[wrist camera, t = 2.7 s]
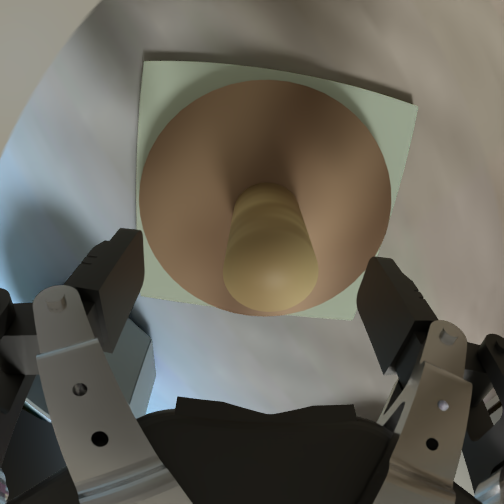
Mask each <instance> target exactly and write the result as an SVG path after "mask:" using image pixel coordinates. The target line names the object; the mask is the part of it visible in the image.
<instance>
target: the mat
mask: <svg viewBox="0 0 504 504" xmlns="http://www.w3.org/2000/svg"><path fill="white" fill-rule="evenodd" d="M251 80H278V81H288V82H293V83H297V84H301V85H305V86H308V87H311V88H313V89H315V90H318V91H320V92H323V93H325V94H327V95H328V96H330V97H332V98H333V99H335V100H337V101H338V102H340V103H342V104H343V105H344V106H345V107H346V108H348V109H349V110H350V111H351V112H353V113H354V114H355V115H356V116H357V117H358V118H359V119H360V120H361V122H362V123H363V124H364V125H365V126H366V127H367V128H368V130H369V131H370V133H371V134H372V136H373V137H374V139H375V140H376V142H377V144H378V146H379V148H380V150H381V152H382V154H383V156H384V159H385V162H386V166H387V169H388V172H389V178H390V184H391V211H390V216H391V213H392V210H393V207H394V203H395V200H396V197H397V193H398V190H399V186H400V182H401V179H402V175H403V171H404V168H405V164H406V160H407V156H408V152H409V148H410V143H411V139H412V135H413V130H414V125H415V121H416V116H417V111H418V106H415V105H412V104H410V103H407V102H404V101H401V100H398V99H395V98H392V97H389V96H386V95H382V94H379V93H376V92H372V91H369V90H365V89H362V88H358V87H355V86H351V85H347V84H343V83H339V82H335V81H330V80H326V79H322V78H317V77H312V76H307V75H302V74H297V73H291V72H285V71H279V70H273V69H266V68H259V67H251V66H242V65H233V64H222V63H208V62H189V61H144V66H143V75H142V85H141V95H140V107H139V121H138V139H137V168H136V218H137V230H141V231H142V233H143V247H144V266H145V275H144V282H143V286H142V288H141V290H140V293H141V296H144V297H150V298H156V299H163V300H169V301H176V302H183V303H190V304H197V305H204V306H212V305H210V304H207V303H206V302H204V301H202V300H200V299H198V298H196V297H195V296H193V295H192V294H190V293H189V292H187V291H186V290H185V289H183V288H182V287H181V286H180V285H179V284H178V283H176V282H175V281H174V280H173V279H172V278H171V277H170V276H169V274H168V273H167V272H166V271H165V270H164V269H163V267H162V266H161V265H160V263H159V262H158V260H157V259H156V257H155V256H154V254H153V252H152V250H151V248H150V246H149V244H148V241H147V239H146V236H145V233H144V230H143V226H142V222H141V217H140V208H139V190H140V181H141V176H142V172H143V167H144V165H145V162H146V159H147V157H148V154H149V151H150V150H151V148H152V146H153V144H154V142H155V141H156V139H157V137H158V136H159V134H160V133H161V132H162V130H163V129H164V128H165V126H166V125H167V124H168V123H169V122H170V121H171V120H172V119H173V118H174V117H175V116H176V115H177V114H178V113H179V112H180V111H181V110H182V109H183V108H185V107H186V106H188V105H189V104H190V103H192V102H193V101H194V100H196V99H198V98H200V97H201V96H203V95H205V94H207V93H209V92H211V91H213V90H216V89H219V88H221V87H224V86H227V85H230V84H235V83H240V82H245V81H251ZM389 220H390V219H389ZM380 247H381V246H380ZM379 250H380V248H379ZM379 250H378V252H377V253H376V255H375V257H377V256H378V253H379ZM364 273H365V271H364V272H363V273H362V274H361V275H360V276H359V277H358V278H357V279H356V281H355V282H353V283H352V284H351V285H350V286H349V287H347V288H346V289H345V290H344V291H342V292H341V293H339V294H338V295H336V296H335V297H333V298H332V299H330V300H328V301H326V302H324V303H322V304H320V305H318V306H315V307H312V308H310V309H307V310H304V311H300V312H296V313H292V314H286V315H291V316H302V317H313V318H325V319H338V320H353V318H354V315H355V313H356V311H357V304H356V299H357V293H358V290H359V287H360V284H361V282H362V279H363V276H364ZM212 307H215V306H212Z"/></svg>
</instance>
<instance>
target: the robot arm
mask: <svg viewBox="0 0 504 504" xmlns="http://www.w3.org/2000/svg"><path fill="white" fill-rule="evenodd" d="M144 275H145V266H144V247H143V233H142V231H141V230H135V229H125V228H120V229H119V230H118V231H117V232H116V234H115V235H114V236H113V237H112V239H111V240H110V241H103V242H102V243H100V244H98V245H96V246H95V247H93V249H92V250H91V251H90V252H89V253H88V255H87V257H85V258H84V260H83V261H82V262H81V264H80V265H79V266H78V267H77V268H76V270H75V271H74V272H73V273H72V275H71V276H70V277H69V279H68V280H67V281H66V282H65V284H64V285H56V286H52V287H49V288H46V289H44V290H43V291H41V292H40V293H39V294H38V295H37V296H36V297H35V299H34V301H33V303H15V304H13V303H12V300H11V297H10V294H9V292H8V291H7V290H5V289H2V288H0V504H504V338H503V337H501V336H499V335H496V334H488V335H487V336H486V337H485V339H484V341H483V342H482V344H481V345H477V344H473V343H469V342H467V339H466V336H465V335H464V333H463V332H462V331H461V330H460V329H459V328H458V327H457V326H455V325H454V324H452V323H450V322H448V321H444V320H438V318H437V317H436V315H435V314H434V312H433V311H432V309H431V308H430V306H429V305H428V303H427V302H426V300H425V299H423V296H422V294H421V293H420V292H418V288H417V287H416V286H415V284H414V283H413V281H412V280H410V279H409V278H408V277H407V276H406V275H404V274H403V273H402V272H401V270H400V269H399V267H398V266H397V265H396V263H395V262H394V260H393V259H391V258H383V257H375V256H373V257H371V258H370V260H369V262H368V264H367V267H366V270H365V273H364V276H363V279H362V282H361V284H360V287H359V290H358V293H357V299H356V304H357V309H358V311H359V314H360V316H361V319H362V321H363V323H364V326H365V328H366V331H367V333H368V336H369V338H370V341H371V343H372V346H373V348H374V351H375V354H376V356H377V359H378V361H379V364H380V367H381V369H382V372H383V375H396V374H397V375H398V377H399V378H398V379H397V381H396V382H395V384H394V386H393V388H392V390H391V393H390V395H389V397H388V399H387V402H386V404H385V406H384V408H383V410H382V412H381V414H380V417H379V419H378V421H377V422H373V421H370V420H368V419H364V418H360V417H356V413H355V409H354V405H353V404H352V405H325V406H310V407H306V408H302V409H297V410H292V411H288V412H283V413H278V414H264V413H260V412H256V411H253V410H249V409H245V408H242V407H238V406H235V405H232V404H228V403H225V402H219V401H210V400H201V399H193V398H185V397H177V402H176V408H175V409H167V410H162V411H157V412H153V413H149V414H146V415H144V416H141V417H139V418H137V419H136V418H135V416H134V415H133V413H132V411H131V409H130V407H129V405H128V403H127V401H126V399H125V397H124V395H123V393H122V391H121V389H120V387H119V385H118V383H117V381H116V379H115V377H114V375H113V373H112V370H111V368H110V366H109V364H108V361H107V359H106V357H105V355H104V352H107V353H112V354H113V351H114V349H115V347H116V344H117V342H118V340H119V337H120V335H121V333H122V330H123V328H124V326H125V323H126V321H127V319H128V317H129V314H130V312H131V310H132V308H133V306H134V303H135V301H136V299H137V297H138V295H139V293H140V290H141V288H142V286H143V282H144ZM36 375H40V380H41V384H42V388H43V392H44V396H45V400H46V404H47V408H48V411H49V415H50V418H51V422H52V425H53V428H54V431H55V434H56V437H57V440H58V443H59V446H60V449H61V451H62V454H63V457H64V460H65V462H66V465H67V466H65V467H64V468H62V469H61V470H59V471H57V472H56V473H54V474H53V475H51V476H50V477H48V478H47V479H45V480H43V481H42V482H40V483H38V484H37V485H35V486H34V487H32V488H31V489H29V490H27V491H25V492H24V493H22V494H20V495H19V496H17V497H15V498H13V499H12V500H10V501H8V502H7V503H6V499H7V498H8V496H9V492H8V489H7V487H6V480H5V476H4V473H3V471H2V469H1V466H2V462H3V459H4V456H5V453H6V450H7V447H8V444H9V441H10V438H11V436H12V433H13V430H14V427H15V425H16V422H17V419H18V417H19V414H20V412H21V409H22V407H23V404H24V402H25V400H26V397H27V395H28V393H29V390H30V388H31V386H32V383H33V381H34V379H35V377H36ZM493 387H494V389H495V391H496V393H497V395H498V397H499V399H500V401H501V403H502V407H503V413H502V416H501V418H500V420H499V421H498V422H497V423H496V424H495V425H493V423H492V421H491V418H490V416H489V413H488V411H487V409H486V407H485V404H484V402H483V399H484V397H485V396H486V395H487V394H488V393H489V392H490V390H491V389H492V388H493ZM461 450H462V452H463V455H464V458H465V462H466V465H467V468H468V472H469V475H470V479H471V482H472V486H473V490H474V494H475V496H474V497H473V496H472V495H471V494H470V493H468V492H467V491H466V490H464V489H463V488H462V487H460V486H459V485H458V484H456V483H455V482H454V478H455V474H456V470H457V467H458V463H459V459H460V455H461Z"/></svg>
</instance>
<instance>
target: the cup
mask: <svg viewBox="0 0 504 504" xmlns="http://www.w3.org/2000/svg"><path fill="white" fill-rule="evenodd" d="M104 355H105V357H106V359H107V361H108V364H109V366H110V368H111V370H112V373H113V375H114V377H115V379H116V381H117V383H118V385H119V387H120V389H121V391H122V393H123V395H124V397H125V399H126V401H127V403H128V405H129V407H130V409H131V411H132V413H133V415H134V416H135V418H136V419H137V418H139V417H141V416H144V415H145V414H146V410H147V406H148V403H149V399H150V395H151V392H152V388H153V385H154V381H155V378H156V370H155V363H154V355H153V346H152V339H151V338H150V337H149V336H148V335H147V334H146V333H145V332H143V331H142V330H141V329H140V328H139V327H138V326H137V325H136V324H135V323H134V322H133V321H132V320H131V319H130V318H129V317H128V319H127V321H126V323H125V326H124V328H123V330H122V333H121V335H120V337H119V340H118V342H117V344H116V347H115V349H114V351H113V354H112V353H107V352H104ZM25 401H26V402H28V403H29V404H30V405H31V406H33V407H34V408H35V409H37V410H38V411H39V412H41V413H42V414H43V415H45V416H46V417H47V418H49V419H50V420H51V418H50V415H49V411H48V408H47V404H46V400H45V396H44V392H43V388H42V384H41V380H40V375H36V377H35V379H34V381H33V383H32V386H31V388H30V390H29V393H28V395H27V397H26V400H25Z"/></svg>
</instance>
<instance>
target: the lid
mask: <svg viewBox="0 0 504 504" xmlns="http://www.w3.org/2000/svg"><path fill="white" fill-rule="evenodd" d="M139 208H140V217H141V222H142V226H143V230H144V233H145V236H146V239H147V241H148V244H149V246H150V248H151V250H152V252H153V254H154V256H155V257H156V259H157V260H158V262H159V263H160V265H161V266H162V267H163V269H164V270H165V271H166V272H167V273H168V274H169V276H170V277H171V278H172V279H173V280H174V281H175V282H176V283H178V284H179V285H180V286H181V287H182V288H183V289H185V290H186V291H187V292H189V293H190V294H192V295H193V296H195V297H196V298H198V299H200V300H202V301H204V302H206V303H207V304H210V305H212V306H215V307H217V308H220V309H222V310H226V311H229V312H233V313H238V314H243V315H250V316H279V315H286V314H292V313H296V312H300V311H304V310H307V309H310V308H312V307H315V306H318V305H320V304H322V303H324V302H326V301H328V300H330V299H332V298H333V297H335V296H336V295H338V294H339V293H341V292H342V291H344V290H345V289H346V288H347V287H349V286H350V285H351V284H352V283H353V282H355V281H356V279H357V278H358V277H359V276H360V275H361V274H362V273H363V272H364V271H365V270H366V267H367V264H368V262H369V260H370V258H371V257H373V256H375V255H376V253H377V252H378V250H379V248H380V246H381V244H382V241H383V239H384V236H385V234H386V230H387V227H388V223H389V219H390V211H391V184H390V178H389V172H388V169H387V166H386V162H385V159H384V156H383V154H382V152H381V150H380V148H379V146H378V144H377V142H376V140H375V139H374V137H373V136H372V134H371V133H370V131H369V130H368V128H367V127H366V126H365V125H364V124H363V123H362V122H361V120H360V119H359V118H358V117H357V116H356V115H355V114H354V113H353V112H351V111H350V110H349V109H348V108H346V107H345V106H344V105H343V104H342V103H340V102H338V101H337V100H335V99H333V98H332V97H330V96H328V95H327V94H325V93H323V92H320V91H318V90H315V89H313V88H311V87H308V86H305V85H301V84H297V83H293V82H288V81H278V80H251V81H245V82H240V83H235V84H230V85H227V86H224V87H221V88H219V89H216V90H213V91H211V92H209V93H207V94H205V95H203V96H201V97H200V98H198V99H196V100H194V101H193V102H192V103H190V104H189V105H188V106H186V107H185V108H183V109H182V110H181V111H180V112H179V113H178V114H177V115H176V116H175V117H174V118H173V119H172V120H171V121H170V122H169V123H168V124H167V125H166V126H165V128H164V129H163V130H162V132H161V133H160V134H159V136H158V137H157V139H156V141H155V142H154V144H153V146H152V148H151V150H150V151H149V154H148V157H147V159H146V162H145V165H144V167H143V172H142V176H141V181H140V190H139Z"/></svg>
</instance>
